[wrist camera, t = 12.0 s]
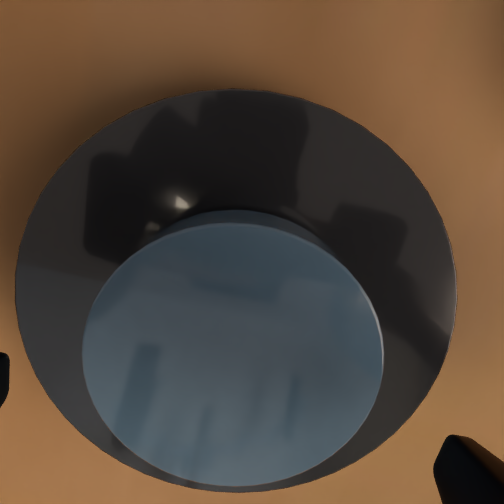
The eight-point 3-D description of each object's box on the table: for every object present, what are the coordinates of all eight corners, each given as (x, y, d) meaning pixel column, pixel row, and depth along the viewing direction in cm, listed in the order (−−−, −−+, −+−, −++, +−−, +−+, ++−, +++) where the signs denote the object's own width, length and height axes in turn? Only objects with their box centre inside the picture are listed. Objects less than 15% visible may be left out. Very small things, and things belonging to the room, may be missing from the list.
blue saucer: (297, 452, 12) (307, 518, 10) (87, 383, 11) (48, 438, 9) (402, 263, 10) (443, 295, 8) (158, 163, 9) (131, 169, 7)
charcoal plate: (329, 502, 14) (336, 534, 13) (2, 399, 13) (-23, 424, 11) (517, 201, 11) (550, 208, 10) (99, 12, 9) (77, -7, 8)
